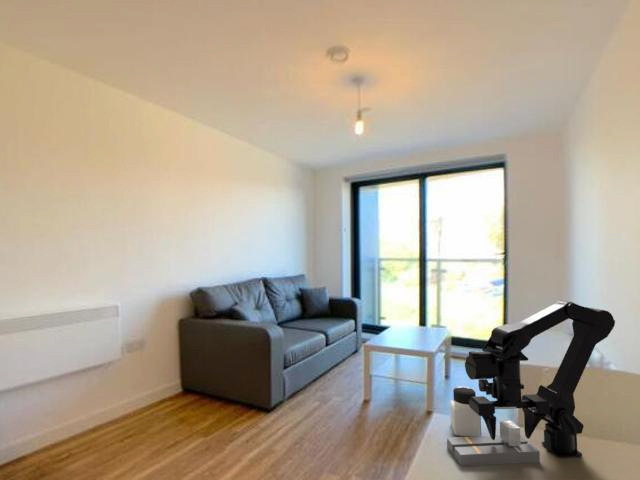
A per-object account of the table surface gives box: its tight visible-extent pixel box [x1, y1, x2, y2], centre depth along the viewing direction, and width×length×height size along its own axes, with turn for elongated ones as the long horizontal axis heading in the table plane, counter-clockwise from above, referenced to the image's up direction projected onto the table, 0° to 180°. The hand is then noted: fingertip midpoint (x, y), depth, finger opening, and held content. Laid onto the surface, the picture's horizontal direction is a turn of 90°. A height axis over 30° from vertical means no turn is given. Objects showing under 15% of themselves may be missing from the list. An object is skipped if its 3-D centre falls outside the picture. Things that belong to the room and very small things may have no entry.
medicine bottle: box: [449, 386, 482, 437], centre depth 103 cm, size 7×7×12 cm
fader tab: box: [499, 420, 521, 446], centre depth 91 cm, size 3×4×6 cm
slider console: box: [446, 434, 541, 467], centre depth 91 cm, size 20×8×3 cm, turn 93°
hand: (510, 438), depth 91 cm, fingers open, 9 cm apart
